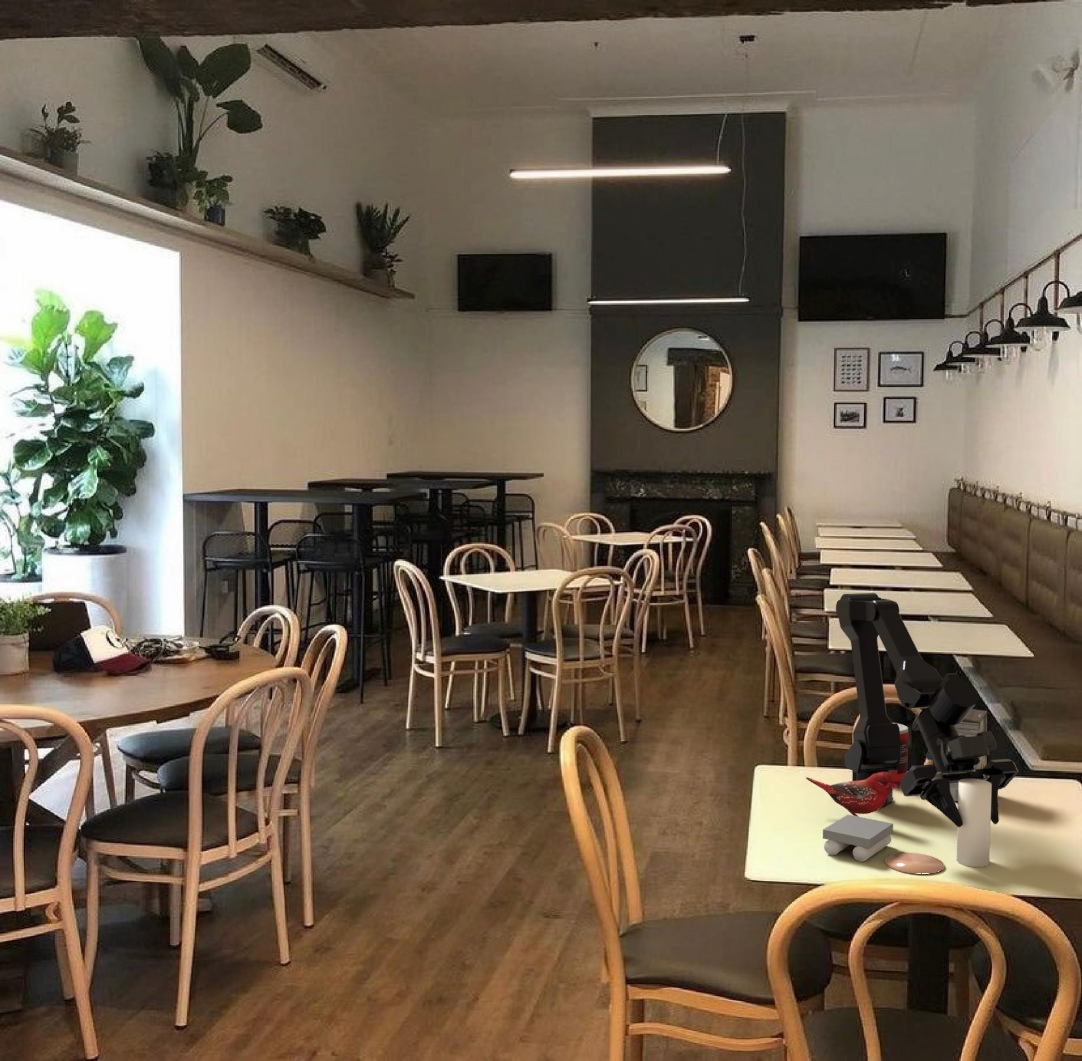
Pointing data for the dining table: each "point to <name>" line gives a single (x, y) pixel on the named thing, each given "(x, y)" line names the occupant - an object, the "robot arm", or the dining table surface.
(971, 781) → the post
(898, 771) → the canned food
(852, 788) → the decorative bird figurine
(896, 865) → the pad
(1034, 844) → the dining table surface
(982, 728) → the coffee box
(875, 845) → the slab on rollers
